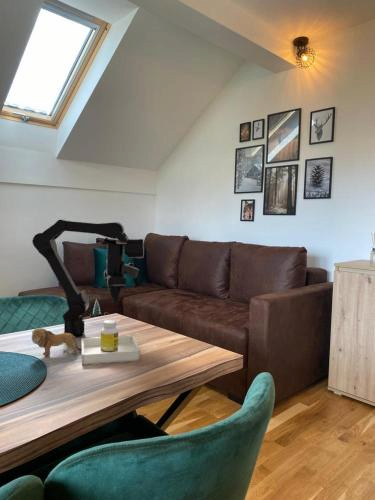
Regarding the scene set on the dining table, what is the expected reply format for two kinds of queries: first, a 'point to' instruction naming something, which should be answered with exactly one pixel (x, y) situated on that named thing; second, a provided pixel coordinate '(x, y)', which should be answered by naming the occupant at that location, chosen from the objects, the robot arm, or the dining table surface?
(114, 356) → the tray
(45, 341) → the lion figurine
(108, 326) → the supplement bottle
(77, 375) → the dining table surface
